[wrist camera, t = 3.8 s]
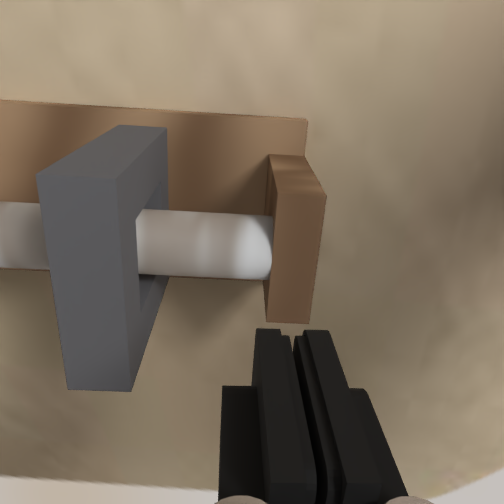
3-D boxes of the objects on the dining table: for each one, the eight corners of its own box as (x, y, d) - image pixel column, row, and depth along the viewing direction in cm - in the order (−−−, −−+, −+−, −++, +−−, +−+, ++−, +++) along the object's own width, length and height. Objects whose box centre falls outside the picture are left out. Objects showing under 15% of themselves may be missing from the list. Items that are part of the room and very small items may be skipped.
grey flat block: (167, 127, 18) (115, 178, 11) (169, 274, 21) (131, 392, 14) (118, 124, 18) (35, 174, 11) (128, 272, 21) (67, 389, 14)
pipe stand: (305, 118, 20) (333, 150, 14) (288, 275, 23) (304, 357, 17) (-201, 87, 19) (-417, 105, 13) (-142, 254, 22) (-290, 333, 16)
